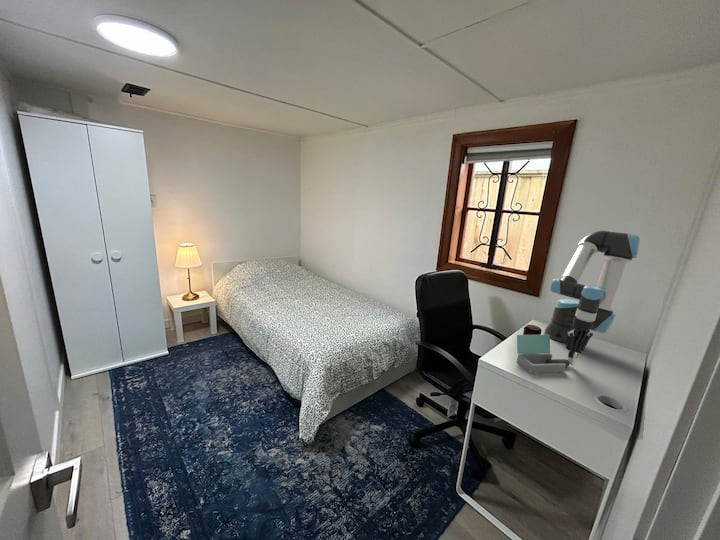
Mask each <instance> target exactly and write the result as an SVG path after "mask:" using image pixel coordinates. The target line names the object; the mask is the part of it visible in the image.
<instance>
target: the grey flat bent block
mask: <svg viewBox="0 0 720 540" xmlns="http://www.w3.org/2000/svg"><path fill="white" fill-rule="evenodd" d="M552 357H553V354H552V353H543V354H517V360H516V362H517V364H519V365H520V366H521V367H522V368H524V369H525V370H526V371H527V372H528V373H530V374H549V373H564V372H565V371H566V367H567V366H566V364H565V363H553V364H546V360H548V359H552Z"/></svg>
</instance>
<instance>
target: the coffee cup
mask: <svg viewBox="0 0 720 540" xmlns="http://www.w3.org/2000/svg"><path fill="white" fill-rule="evenodd" d="M542 332H543V331H542V328H541V327H539V326H538V325H535V324H526V325H525V326H524V327H523V333H522V335H542Z"/></svg>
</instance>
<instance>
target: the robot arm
mask: <svg viewBox="0 0 720 540" xmlns="http://www.w3.org/2000/svg"><path fill="white" fill-rule="evenodd" d="M575 249H576V251H575V253H574V254H573V256H572V257H571V260H570V261H569V263H568V264H567V266H566V267H565V270H564V271H563V273H562V274H561V277H560V278H553V280H552V281H551V284H550V288H549V289H550V291H551V292H552V293H555V294H557V295H561V296H565V297H568V298H562V299H558V300H557V301H556V303H555V306H554V310H553V312H552V317H551V321H550V323H549V324H547V326H546V327H545V329H544V332H543V335H550V340H553V341H556V342H560V343H565V344H566V345H565V346H566V350H568V355H567V360H568V361H569V365H571V366H575V364H576V360H577V358H578V355H579V354H582V352H584V350H585V348H586V347H587V345H588V343H589V341H590V340H591V338H592V336H593V335H594V333H593V332H597V333H600V334H605V333H607V332H608V330H609V329H610V328H611V326H612V324H613V322H614V320H615V318H616V315H615V313H614V309H613V308H612V306H613V302H614V299H615V297H616V294H617V292H618V291H617V290H618V288H619V285H620V282H621V279H622V276H623V273H624V271H625V268H626V266H627V264H628V263H630V262H632V260H633V259H636V258H637V257H638V253H639V249H640V237H639V236H638V234H637V235H636V234H632V233H625V232H616V231H615V232H614V231H607V230H596V231H594V232H592V233H590V234H587V235H586V236H583V238H581V239H580V240H579V242H578V243H577V245H576V248H575ZM597 253H602V254H603V258H604V259H605V261H604V264H603V265H602V266H603V267H602V269H601V272H600V276H599V277H598V282H597V285H596V286H593V285H585V284H581V283H579V281H580V279H581V278H582V276H583V273H584V272H585V270H586V268H587V266H588V264H589V262H590V261H591V259H592V258H593V256H594V255H595V254H597ZM570 298H572V299H570ZM578 300H579V301H578ZM590 331H593V332H590Z"/></svg>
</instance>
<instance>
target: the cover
mask: <svg viewBox="0 0 720 540" xmlns="http://www.w3.org/2000/svg"><path fill="white" fill-rule="evenodd" d="M516 353H517V355H519V354H551V338H550V335H545V334H541V335H523V334H516Z"/></svg>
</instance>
